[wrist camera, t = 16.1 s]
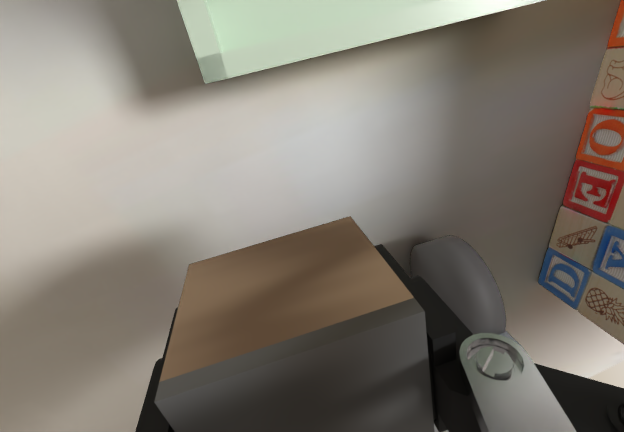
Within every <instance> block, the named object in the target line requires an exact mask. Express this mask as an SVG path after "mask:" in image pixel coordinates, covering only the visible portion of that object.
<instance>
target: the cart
mask: <svg viewBox="0 0 624 432" xmlns="http://www.w3.org/2000/svg"><path fill="white" fill-rule="evenodd" d="M410 268H411V275H412V277H414V276H417V275H418V276H421V277H422V278H423V279H424V280H425V281H426V282H427V283H428V285H429V286H430V287H431V288H432V289H433V290H434V291H435V292H436V293H437V295H438V296H439V297H440V298H441V299H442V300H443V301H444V302H445V303H446V305H447V306H448V307H449V308H450V309H451V310H452V311H453V312H454V313H455V314H456V316H457V317H458V318H459V319H460V320H461V321H462V322H463V323H464V324H465V326H466V327H467V328H468V329H469V330H470V331H471V332H472V333H473V334H474V335H475V334H479V333H493V334H498V335H502V336H504V337H507V338H509V339H511V340H513V341H514V342H516V343H517V344H519V343H518V342H517V341H516V340H515V339H514V338H513V337H512V336H511V335H509V334H508V333H507V332H506V331H505V329H506V315H505V309H504V304H503V300H502V297H501V294H500V291H499V289H498V286H497V284H496V282H495V280H494V278H493V276H492V274H491V272H490V270H489V269H488V267H487V266H486V264H485V263H484V261H483V260H482V258H481V257H480V256H479V255H478V253H477V252H476V251H475V250H474V249H473V248H472V247H471V246H470V245H469V244H468V243H466V242H465V241H464V240H462V239H460V238H458V237H456V236H450V235H449V236H445V237H441V238H438V239H435V240H432V241H428V242H425V243H422V244H419V245H416V246H414V248H413V249H412V251H411V256H410ZM519 345H520V344H519ZM520 346H521V345H520ZM521 347H522V346H521ZM522 348H523V347H522ZM523 349H524V348H523ZM434 431H435V432H439V431H438V430H437V428H436V426H435V424H434ZM444 432H449V431H448V430H446V431H444Z"/></svg>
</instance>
